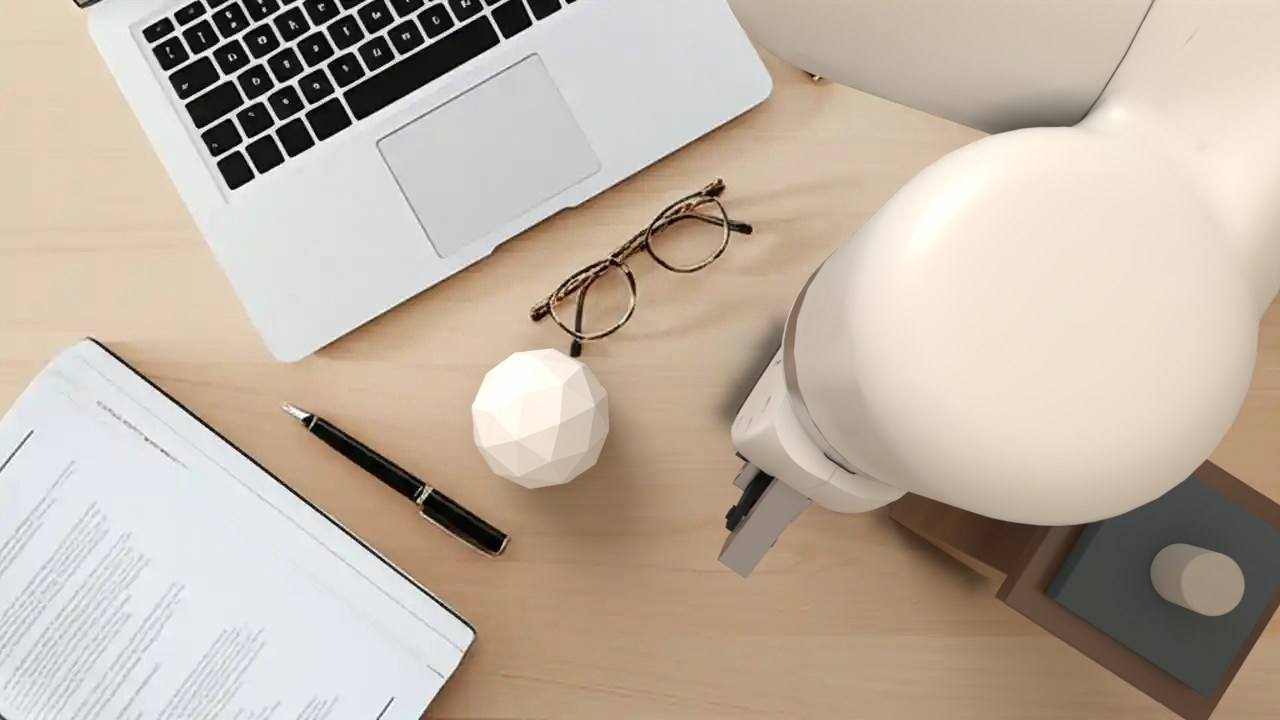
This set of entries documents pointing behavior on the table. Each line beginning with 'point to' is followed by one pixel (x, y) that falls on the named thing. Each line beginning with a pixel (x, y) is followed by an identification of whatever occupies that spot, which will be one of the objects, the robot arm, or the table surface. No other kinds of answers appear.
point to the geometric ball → (540, 418)
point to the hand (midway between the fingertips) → (831, 375)
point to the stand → (1036, 556)
